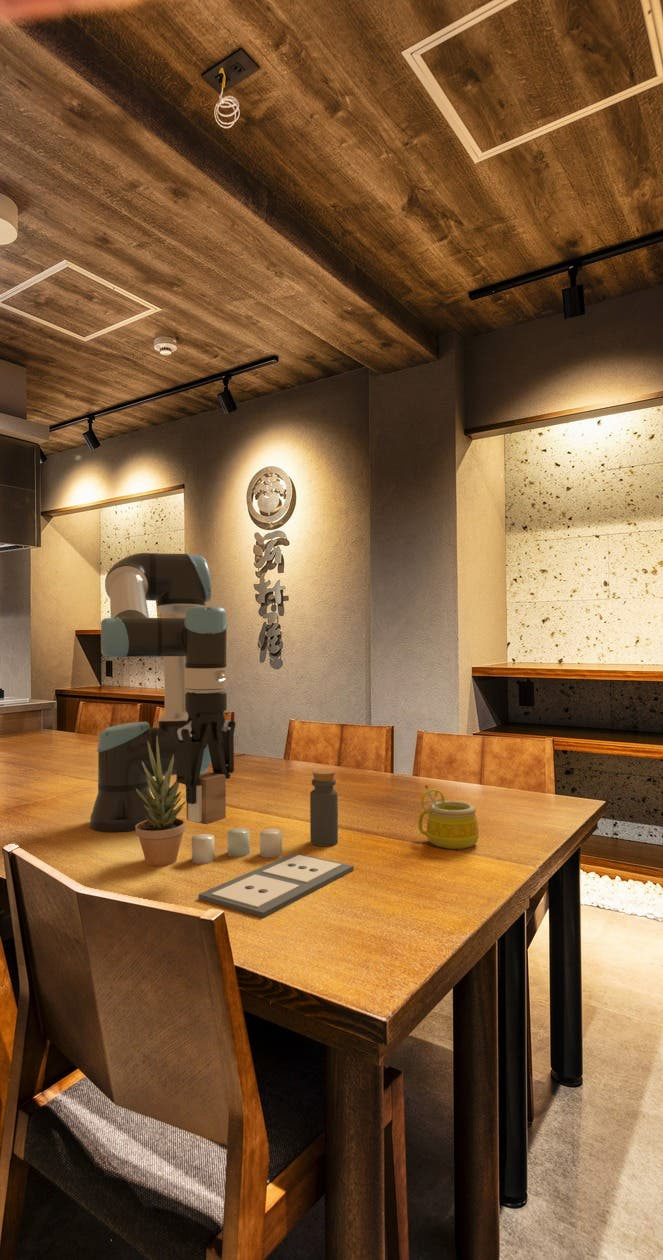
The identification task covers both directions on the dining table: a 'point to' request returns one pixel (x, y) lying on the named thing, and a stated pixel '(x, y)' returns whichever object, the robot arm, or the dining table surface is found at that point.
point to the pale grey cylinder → (203, 848)
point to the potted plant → (160, 816)
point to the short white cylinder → (270, 843)
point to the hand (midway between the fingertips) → (206, 816)
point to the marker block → (212, 797)
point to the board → (276, 884)
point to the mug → (449, 822)
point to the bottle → (324, 809)
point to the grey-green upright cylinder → (238, 842)
